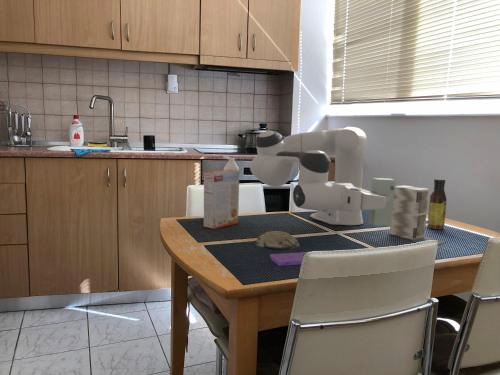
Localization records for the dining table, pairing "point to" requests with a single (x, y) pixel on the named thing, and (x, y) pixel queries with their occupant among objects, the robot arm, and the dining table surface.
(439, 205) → the sauce bottle
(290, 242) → the grey lumpy flat piece
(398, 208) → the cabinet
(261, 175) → the robot arm
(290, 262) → the sponges
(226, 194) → the cracker box
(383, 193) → the pale green block
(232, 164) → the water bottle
